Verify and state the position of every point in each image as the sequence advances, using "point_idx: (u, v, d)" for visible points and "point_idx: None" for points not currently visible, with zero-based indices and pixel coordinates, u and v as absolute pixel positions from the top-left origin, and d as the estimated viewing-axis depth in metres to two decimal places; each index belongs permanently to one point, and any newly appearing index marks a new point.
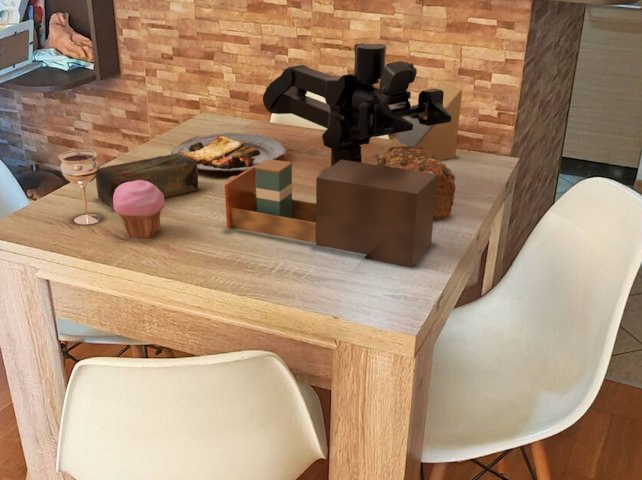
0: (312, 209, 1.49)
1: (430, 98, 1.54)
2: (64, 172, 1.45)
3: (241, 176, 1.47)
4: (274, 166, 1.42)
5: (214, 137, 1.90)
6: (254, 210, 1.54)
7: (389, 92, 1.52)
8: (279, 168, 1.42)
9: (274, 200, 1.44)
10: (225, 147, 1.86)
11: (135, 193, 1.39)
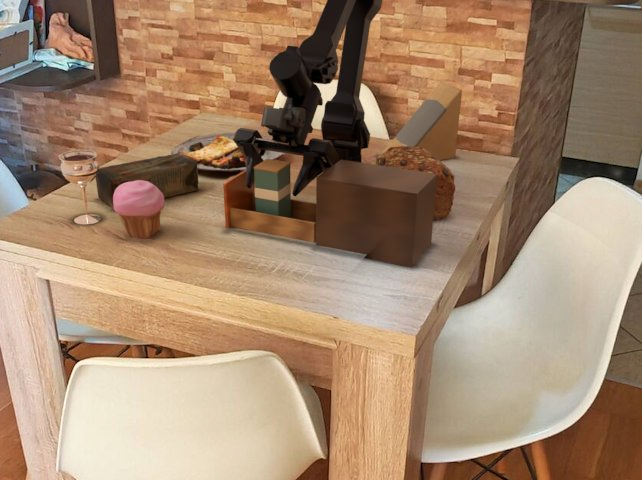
0: (311, 209, 1.49)
1: (303, 156, 1.42)
2: (64, 172, 1.45)
3: (240, 176, 1.47)
4: (272, 166, 1.43)
5: (214, 137, 1.90)
6: (253, 210, 1.54)
7: (271, 128, 1.44)
8: (278, 167, 1.42)
9: (273, 200, 1.44)
10: (225, 147, 1.86)
11: (135, 193, 1.39)
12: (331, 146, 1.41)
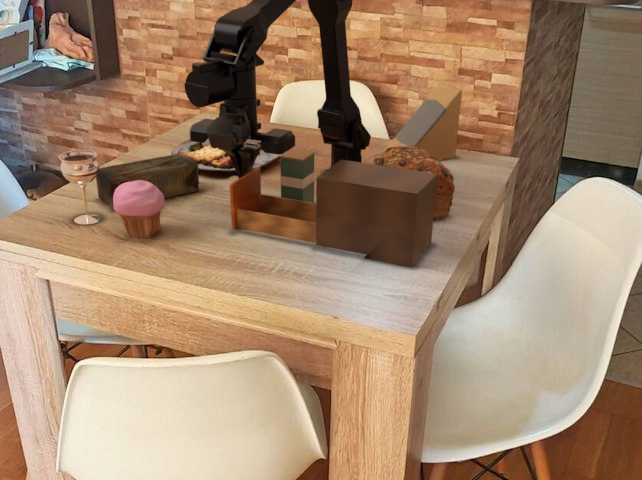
0: None
1: None
2: (64, 172, 1.45)
3: (246, 177, 1.47)
4: (297, 155, 1.50)
5: None
6: (259, 211, 1.54)
7: None
8: (303, 156, 1.49)
9: (298, 187, 1.51)
10: None
11: (135, 193, 1.39)
12: (283, 143, 1.41)
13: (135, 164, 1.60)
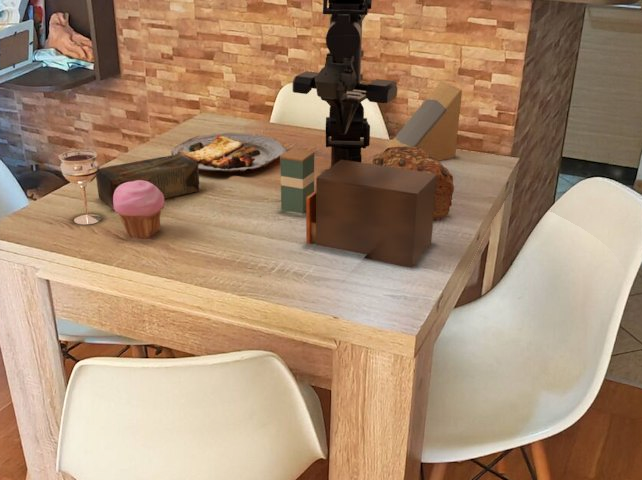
0: None
1: (342, 102, 1.49)
2: (64, 172, 1.45)
3: None
4: (297, 155, 1.50)
5: (214, 137, 1.90)
6: None
7: None
8: (303, 156, 1.49)
9: (298, 187, 1.51)
10: (225, 147, 1.86)
11: (135, 193, 1.39)
12: (388, 92, 1.45)
13: (135, 164, 1.60)
